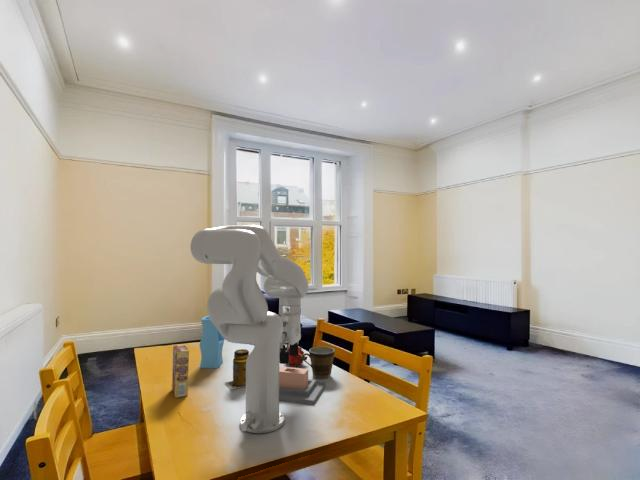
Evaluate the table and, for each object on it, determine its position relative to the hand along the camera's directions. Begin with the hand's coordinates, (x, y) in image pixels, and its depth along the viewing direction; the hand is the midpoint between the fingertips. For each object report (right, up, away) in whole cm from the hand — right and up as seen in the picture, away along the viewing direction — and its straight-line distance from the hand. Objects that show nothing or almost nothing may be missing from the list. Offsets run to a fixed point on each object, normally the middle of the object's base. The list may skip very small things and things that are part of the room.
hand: (289, 359), depth 123 cm
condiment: (-19, -11, +6) cm, 23 cm away
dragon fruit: (0, -12, +28) cm, 31 cm away
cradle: (0, -11, 0) cm, 11 cm away
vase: (-35, -12, +27) cm, 46 cm away
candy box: (-37, -11, -1) cm, 39 cm away
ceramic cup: (+10, -12, +14) cm, 21 cm away
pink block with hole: (0, -10, 0) cm, 10 cm away
